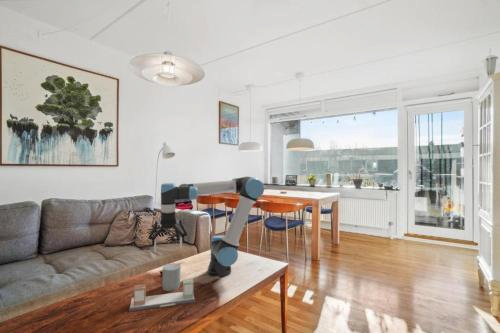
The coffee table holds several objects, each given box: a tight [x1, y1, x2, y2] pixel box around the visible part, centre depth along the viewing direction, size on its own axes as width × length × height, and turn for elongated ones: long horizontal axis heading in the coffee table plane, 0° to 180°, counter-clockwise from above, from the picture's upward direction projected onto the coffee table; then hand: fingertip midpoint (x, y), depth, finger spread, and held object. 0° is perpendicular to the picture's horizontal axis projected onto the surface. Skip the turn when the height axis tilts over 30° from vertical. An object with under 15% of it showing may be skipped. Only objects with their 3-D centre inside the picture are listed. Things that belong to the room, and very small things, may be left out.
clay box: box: [133, 283, 147, 306], centre depth 127 cm, size 5×4×8 cm
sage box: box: [182, 278, 195, 299], centre depth 134 cm, size 5×4×8 cm
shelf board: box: [128, 291, 196, 312], centre depth 130 cm, size 30×12×2 cm, turn 108°
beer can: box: [161, 262, 181, 292], centre depth 144 cm, size 10×10×12 cm
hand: (168, 250), depth 143 cm, fingers open, 13 cm apart
